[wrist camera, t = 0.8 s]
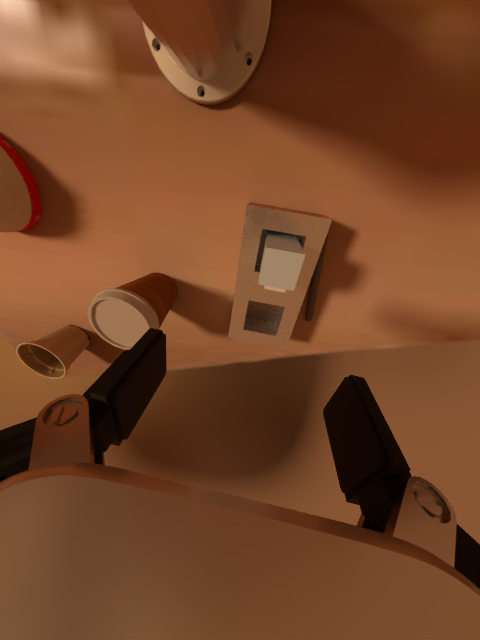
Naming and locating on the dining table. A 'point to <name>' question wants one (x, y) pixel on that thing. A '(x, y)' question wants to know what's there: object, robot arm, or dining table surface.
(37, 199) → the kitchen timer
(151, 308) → the disposable coffee cup
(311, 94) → the dining table surface
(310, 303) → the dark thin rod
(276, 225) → the panel
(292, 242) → the plug
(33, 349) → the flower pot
